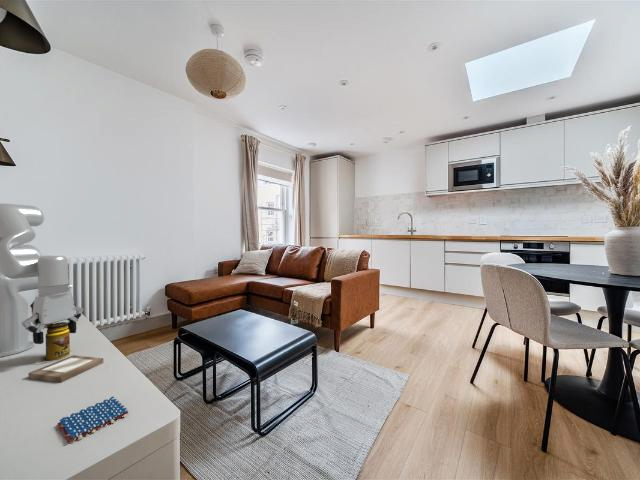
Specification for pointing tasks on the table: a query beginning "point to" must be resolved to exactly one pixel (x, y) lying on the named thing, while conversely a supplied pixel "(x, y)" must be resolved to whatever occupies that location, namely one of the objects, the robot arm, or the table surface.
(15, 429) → the table surface
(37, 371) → the picture frame
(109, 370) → the table surface
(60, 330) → the condiment
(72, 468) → the table surface
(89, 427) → the woven mat
